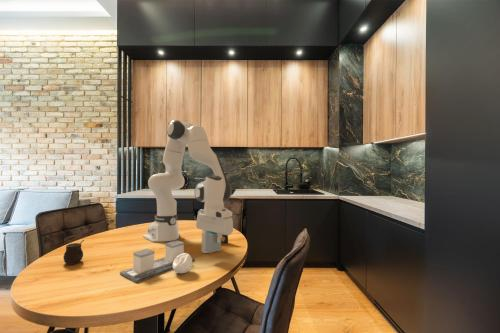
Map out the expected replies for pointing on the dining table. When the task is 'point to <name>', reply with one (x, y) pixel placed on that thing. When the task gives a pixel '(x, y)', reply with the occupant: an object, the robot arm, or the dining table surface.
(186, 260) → the white lumpy ball
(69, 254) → the mate gourd
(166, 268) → the rail panel
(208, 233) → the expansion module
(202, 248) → the photo printer
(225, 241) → the ammunition clip
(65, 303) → the dining table surface
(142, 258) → the plate
